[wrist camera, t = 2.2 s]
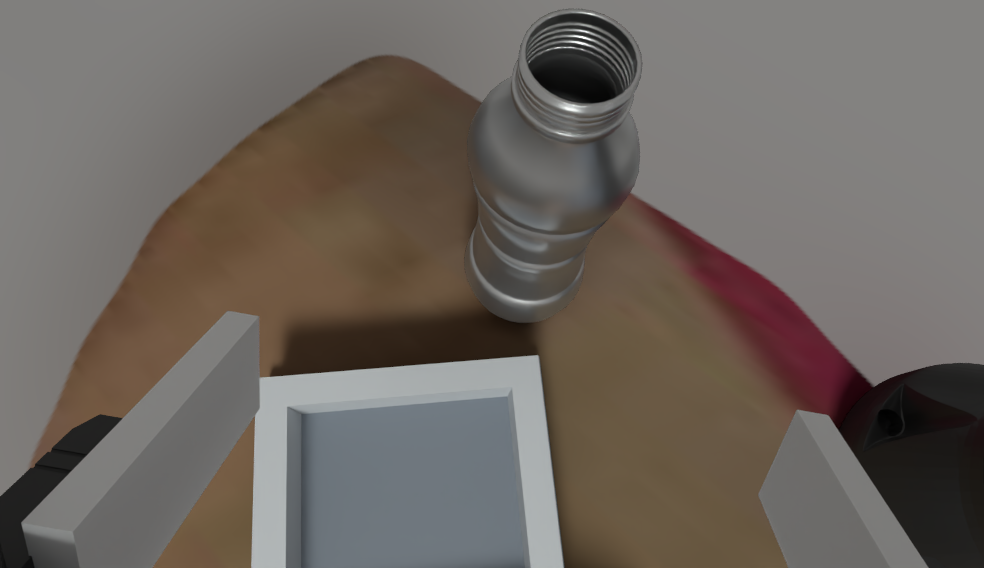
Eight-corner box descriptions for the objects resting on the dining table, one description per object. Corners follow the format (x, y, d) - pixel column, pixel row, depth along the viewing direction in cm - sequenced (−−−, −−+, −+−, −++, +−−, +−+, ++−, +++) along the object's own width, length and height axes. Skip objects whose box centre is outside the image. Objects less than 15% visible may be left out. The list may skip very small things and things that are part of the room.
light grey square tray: (537, 360, 36) (546, 344, 32) (572, 658, 31) (588, 679, 28) (268, 382, 35) (246, 369, 31) (263, 695, 30) (235, 723, 26)
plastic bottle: (547, 351, 36) (647, 191, 17) (443, 300, 37) (430, 91, 18) (592, 258, 38) (724, 24, 19) (492, 211, 39) (526, -60, 20)
